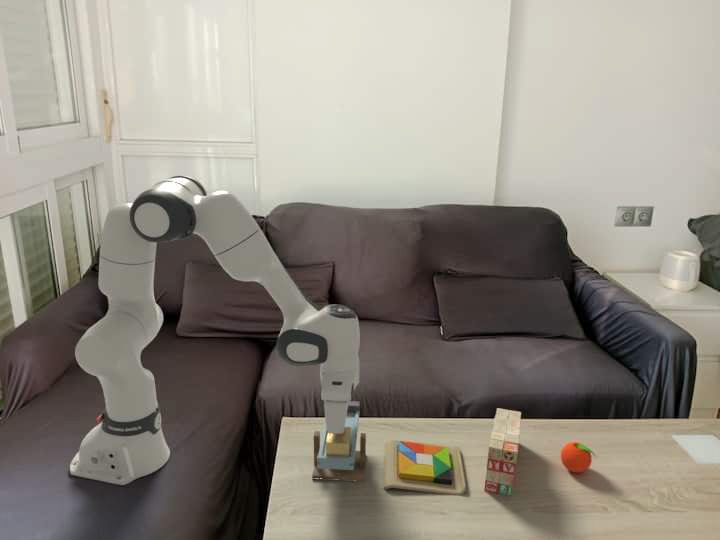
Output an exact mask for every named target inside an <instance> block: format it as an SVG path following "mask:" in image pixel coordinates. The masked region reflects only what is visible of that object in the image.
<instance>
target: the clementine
mask: <svg viewBox="0 0 720 540" xmlns="http://www.w3.org/2000/svg"><path fill="white" fill-rule="evenodd" d="M592 455H594V457H595V459H596V460H597V457H596V455H595V452H593V451H592V450H591V449H590V448H589V447H587V446H585V444H582V443H580V442H577V441H575V442H569V443H567V444H565V445H564V446H563V448H562V449H561V452H560V460H561V463H562V465H563V466H564V467H565V468H566V469H567V470H568V471H570V472H573V473H583V472H586V471H587V470H588V469H589V468H590V466H591V464H592Z"/></svg>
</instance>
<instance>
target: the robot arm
mask: <svg viewBox="0 0 720 540" xmlns="http://www.w3.org/2000/svg"><path fill="white" fill-rule="evenodd" d="M103 223H104V224H103V228H102V233H101V238H100V248H99V262H98V263H99V265H98V288H99V290H100V292H101V293H102V294H103V295H105V296H106V297H107V301H108V310H107V311H106V314H105V315H104V317H102V318H101V319H100V320H98V321H97V322H96V323H95V324H92V326H90V327H89V328H88V329H87V330H86V331H85V333H84V334H83V335H82V336H81V338H80V339H79V341H78V342H77V343H76V345H75V350H74V354H75V355H74V356H75V359H76V362H77V364H78V365H79V366H80V368H81V369H82V370H83V371H84V372H86V373H88V374H89V375H92V376H95V377H96V378H97V379H98V380H99V383H100V385H101V387H102V390H103V391H102V392H103V397H104V403H105V408H104V409H103V410H102V411H101V412H100V415H99V416H98V417H97V419H96V422H97V423H96V424H97V425H96V426H95V427H93V428H92V429H91V430H90V431H89V432H88V433H87V434H86V435H85V437H84V438H83V440H82V441H81V443H80V446H79V451H78V452H77V453H76V454H75V455H74V457H73V458H72V460H71V463H70V465H69V474H70V475H72V476H75V477H76V476H77V477H80V478H84V479H89V480H95V481H99V482H105V483H109V484H113V485H119V486H125V485H128V484H130V483H132V482H133V481H134V480H136V479H139V478H141V477H145V476H149V475H150V474H152V473H154V472H156V471H158V470H159V469H160V468H162V467H163V466H165V464H166V463H167V462H168V460H169V458H170V456H171V450H170V448H169V446H168V445H167V442H166V439H165V437H164V434H163V430H162V429H163V428H162V416H161V409H160V404H159V402H158V400H157V391H156V383H155V377H154V375H153V373H152V372H151V371H150V370H148V369H146V368H144V367H143V365H142V362H141V356H142V355H141V354H142V351H143V350H144V348H146V347H147V346H148V345H149V344H150V343H151V342H152V341H153V340H154V339H155V337H156V336H157V335H158V333H159V332H160V329H161V327H162V325H163V323H164V313H163V311H162V308H161V306H159V304H157V303H156V300H155V299H156V298H155V293H154V292H155V291H154V281H155V280H154V279H155V268H156V267H155V265H156V254H157V245H158V244H157V243H167V242H172V241H177V240H181V239H188V238H190V237H192V235H193V234H194V235H198V236H199V237H200V238H202V240H204V242H205V243H206V245H207V247H208V248H209V249H210V251H211V253H212V254H213V255H214V258H215V259H216V261H217V262H218V263H219V265H220V266H221V267H222V269H223V270H224V271H225V272H226V273H227V274H228V275H229V276H230V277H231V278H232V279H234V280H236V281H240V282H256V283H258V284H260V285H262V286H263V287H264V288H265V290H266V291H267V292H268V294H269V295H270V297H272V299H273V300H274V302H275V303H276V305H277V306H278V307H279V308H280V311H281V312H282V316H283V325H282V327H281V330H280V333H278V338H277V341H276V344H275V345H276V346H275V347H276V351H277V354H278V356H279V357H280V359H281V360H282V361H283V362H285V363H286V364H288V365H290V366H293V367H308V366H317V365H319V370H320V371H319V372H320V374H319V377H320V378H319V379H320V385H321V389H320V390H321V391H320V393H321V394H320V396H321V397H320V398H321V400H322V401H323V402H324V403H323V406H324V408H323V409H324V419H325V420H324V422H325V421H326V429H327V431H328V433H332V434H342V433H343V432H344V429H345V423H346V415H347V409H348V404H349V401H351V400H352V397H353V393H354V391H355V390H356V388H357V386H358V385H359V383H360V358H359V351H360V350H359V349H360V346H361V345H360V343H361V341H360V339H361V336H360V334H361V333H360V325H359V318H358V316H357V314H356V312H355V311H354V310H353V309H352V308H350V307H348V306H346V305H343V304H337V303H336V304H335V303H334V304H327V305H325V306H323V308H321V307H320V306H318V304H316V303H315V302H313V301H312V300H311V299H309V298H308V297H307V296H306V295H305V294H304V292H303V291H302V290H301V288H300V287H299V286H298V284H297V282H295V280H294V278H293V277H292V276H291V274H290V273H289V271H288V270H287V269H286V267H285V265H283V263H282V262H281V261H280V260H279V257H278V256H277V254H276V252H275V251H274V250H273V248H272V246H271V244H270V242H269V241H268V239H267V238H266V236H265V234H264V232H263V231H262V229H261V227H260V226H259V224H258V223H257V221H256V219H255V218H254V217H253V216H252V214H251V213H250V211H249V210H248V209H247V207H246V206H245V205H244V204H243V202H241V201H240V200H239V198H238V197H236V195H235V194H233V193H232V192H230V191H226V190H217V191H213V192H211V193H208V194H207V191H206V188H205V187H204V186H203V184H202V183H201V182H200V181H198V180H197V179H195V178H194V177H191V176H186V175H175V176H171V177H170V178H167V179H164V180H161V181H159V182H156V183H155V184H154V185H153V186H151V187H150V188H149V189H147V190H145V191H143V192H141V193H140V194H139V195H138V196H137V197H136V198H135V199H134V201H133V203H132V202H131V203H130V202H129V203H128V202H127V203H126V202H124V203H121V204H117V205H114V206H113V207H111V208H109V211H108V212H107V214H106V216H105V221H104V222H103Z"/></svg>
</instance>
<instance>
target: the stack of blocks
mask: <svg viewBox="0 0 720 540" xmlns="http://www.w3.org/2000/svg"><path fill="white" fill-rule="evenodd" d="M521 424H522V411H517V410H511V409H505V408H499V407H498V408H496V411H495V416H494V419H493V425H492V427H493V428H492V431H491V436H490V440H489V445H488V454H487V462H486V472H485V473H486V474H485V479H484V480H485V481H484V491H485V492H490V493H494V494H500V495H503V496H507V497H512V496H513V491H514V483H515V477H516V471H517V470H516V468H517V460H518V452H519V443H520V435H521V434H520V433H521Z"/></svg>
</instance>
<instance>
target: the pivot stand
mask: <svg viewBox="0 0 720 540" xmlns="http://www.w3.org/2000/svg"><path fill="white" fill-rule="evenodd" d="M359 440H360V441H359V444H360V445H359V448H360V449H359V450H356V451H355V461H354V470H339V469H319V468H317V455H318V454H319V449H320V444H321V434H320V430H319V431H318V430H315V431H314V433H313V469H312V473H311V474H312V476H311V477H312V478H319V479H320V478H322V479H339V480H356V481H355V482H359V481H364V479H365V470H366V457H365V456H366V455H367V454H366V453H367V451H366V449H367V447H366V446H367V445H366V444H367V433H364V432H363V433H362V432H361V433H360V438H359ZM364 469H365V470H364ZM319 479H318V480H319ZM339 480H338V481H339ZM364 482H365V481H364Z"/></svg>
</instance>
